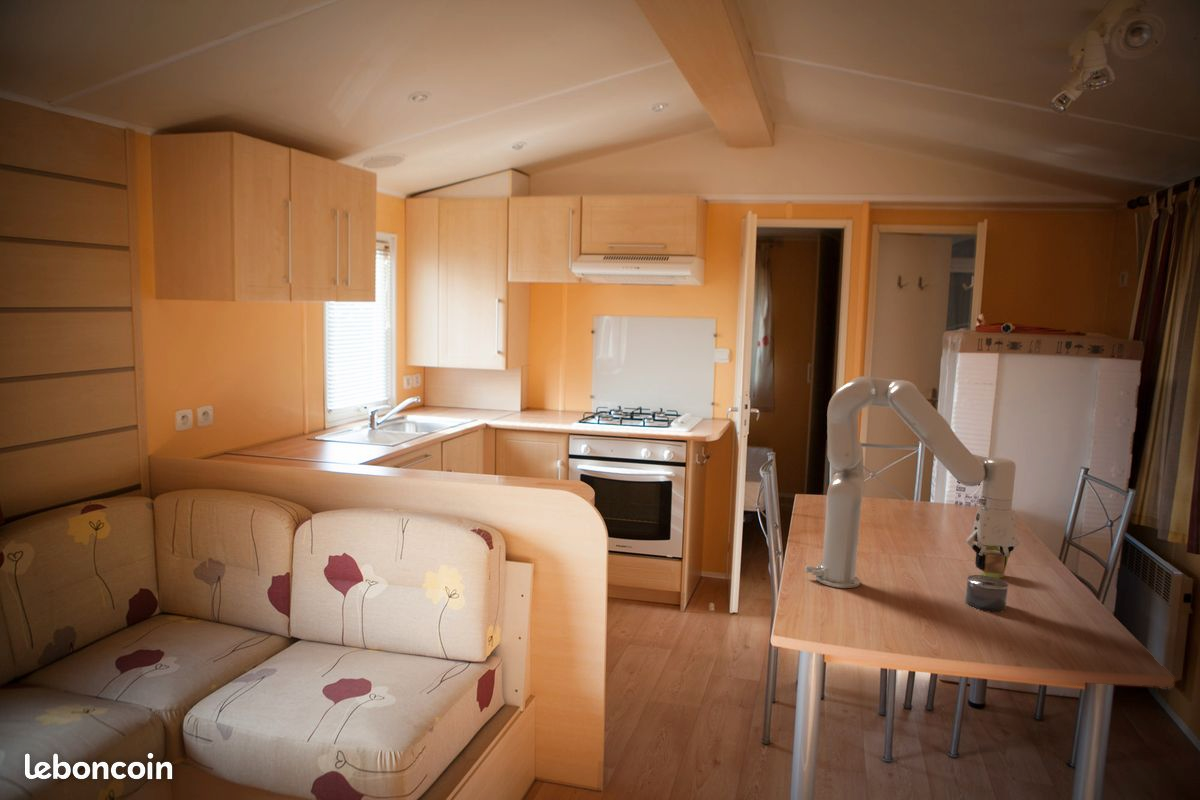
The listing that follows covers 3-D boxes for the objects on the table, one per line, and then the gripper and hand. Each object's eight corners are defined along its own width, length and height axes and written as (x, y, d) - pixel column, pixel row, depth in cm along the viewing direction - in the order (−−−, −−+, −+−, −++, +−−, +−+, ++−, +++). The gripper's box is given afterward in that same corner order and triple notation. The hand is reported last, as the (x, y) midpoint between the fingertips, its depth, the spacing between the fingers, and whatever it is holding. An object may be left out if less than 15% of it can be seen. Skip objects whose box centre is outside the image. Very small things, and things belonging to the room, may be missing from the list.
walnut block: (985, 573, 219) (987, 555, 219) (976, 567, 224) (978, 549, 224) (1003, 573, 219) (1005, 555, 219) (993, 567, 224) (995, 550, 224)
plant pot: (990, 581, 244) (993, 553, 243) (968, 571, 253) (971, 544, 252) (1016, 580, 246) (1019, 552, 245) (993, 569, 255) (996, 543, 254)
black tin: (976, 612, 218) (979, 587, 217) (958, 598, 228) (960, 574, 227) (1013, 613, 218) (1016, 588, 217) (993, 599, 228) (995, 575, 228)
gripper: (972, 506, 216) (966, 572, 218) (1034, 508, 216) (1028, 573, 218) (959, 499, 223) (953, 563, 225) (1019, 501, 224) (1012, 565, 226)
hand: (990, 567), depth 222 cm, fingers closed on walnut block, 5 cm apart
